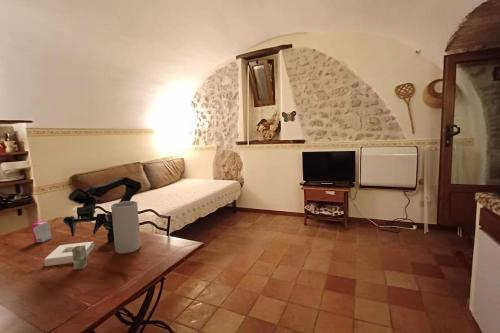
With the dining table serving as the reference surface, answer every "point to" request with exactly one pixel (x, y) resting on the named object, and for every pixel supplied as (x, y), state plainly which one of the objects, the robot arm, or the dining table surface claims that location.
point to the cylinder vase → (126, 226)
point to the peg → (79, 257)
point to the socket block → (66, 253)
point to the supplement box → (41, 231)
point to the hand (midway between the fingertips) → (83, 235)
